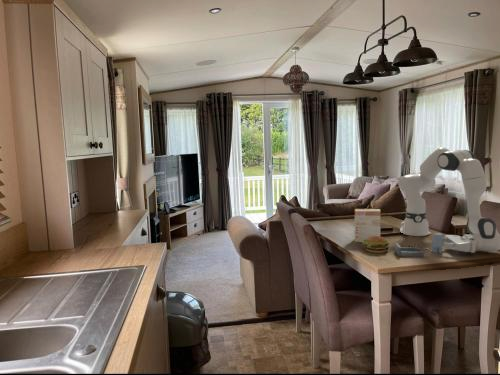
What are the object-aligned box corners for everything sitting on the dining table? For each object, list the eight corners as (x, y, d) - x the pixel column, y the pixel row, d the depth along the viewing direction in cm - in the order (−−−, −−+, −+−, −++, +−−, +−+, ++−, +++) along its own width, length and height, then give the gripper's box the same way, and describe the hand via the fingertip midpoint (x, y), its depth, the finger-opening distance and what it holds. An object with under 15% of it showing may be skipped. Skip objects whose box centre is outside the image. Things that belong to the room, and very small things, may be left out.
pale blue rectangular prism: (432, 250, 214) (432, 233, 213) (439, 250, 213) (440, 233, 212) (434, 252, 210) (434, 234, 209) (442, 253, 210) (442, 234, 208)
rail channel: (395, 251, 214) (395, 242, 214) (419, 252, 212) (419, 243, 212) (398, 256, 205) (398, 247, 204) (423, 257, 203) (424, 247, 202)
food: (358, 247, 224) (358, 234, 223) (382, 246, 225) (382, 233, 224) (368, 254, 210) (368, 240, 209) (393, 253, 211) (393, 239, 211)
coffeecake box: (379, 240, 239) (380, 208, 237) (380, 243, 233) (380, 211, 230) (354, 239, 243) (354, 208, 241) (354, 242, 237) (354, 210, 234)
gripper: (461, 232, 219) (435, 232, 221) (476, 241, 199) (447, 241, 201) (461, 243, 219) (434, 242, 222) (475, 253, 199) (447, 253, 201)
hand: (440, 242), depth 211 cm, fingers open, 8 cm apart
